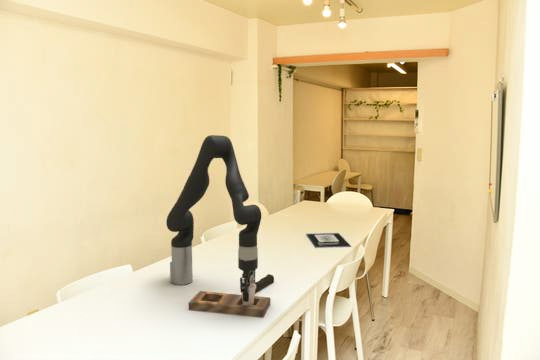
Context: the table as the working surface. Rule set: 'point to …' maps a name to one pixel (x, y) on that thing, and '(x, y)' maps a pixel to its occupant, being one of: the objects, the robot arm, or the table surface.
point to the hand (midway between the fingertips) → (248, 297)
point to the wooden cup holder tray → (228, 304)
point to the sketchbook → (327, 240)
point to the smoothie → (250, 295)
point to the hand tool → (264, 282)
